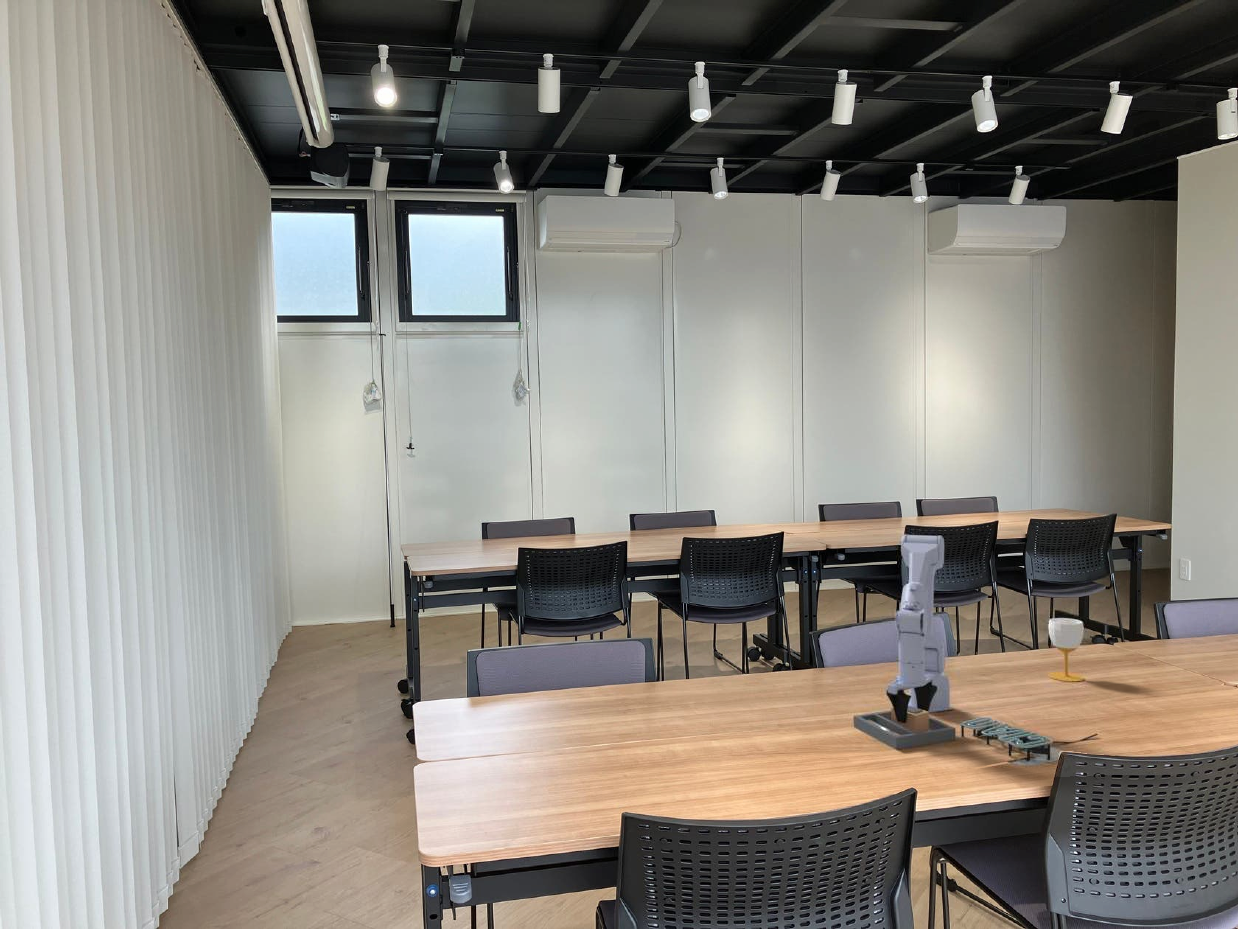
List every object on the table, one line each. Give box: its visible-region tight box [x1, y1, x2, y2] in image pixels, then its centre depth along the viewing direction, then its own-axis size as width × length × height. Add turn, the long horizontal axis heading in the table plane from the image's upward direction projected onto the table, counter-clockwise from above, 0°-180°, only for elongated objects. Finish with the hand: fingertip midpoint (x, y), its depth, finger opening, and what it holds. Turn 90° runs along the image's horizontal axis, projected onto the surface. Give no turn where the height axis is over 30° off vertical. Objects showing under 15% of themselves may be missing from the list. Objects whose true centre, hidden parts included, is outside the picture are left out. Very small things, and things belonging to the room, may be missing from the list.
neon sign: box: [960, 716, 1098, 767], centre depth 192 cm, size 21×4×29 cm
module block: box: [890, 706, 930, 733], centre depth 198 cm, size 4×7×5 cm, turn 32°
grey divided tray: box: [853, 709, 957, 750], centre depth 197 cm, size 16×16×3 cm
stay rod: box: [867, 719, 900, 736], centre depth 195 cm, size 12×2×2 cm, turn 19°
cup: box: [1047, 617, 1085, 683], centre depth 240 cm, size 9×9×16 cm
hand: (912, 718), depth 198 cm, fingers open, 7 cm apart
